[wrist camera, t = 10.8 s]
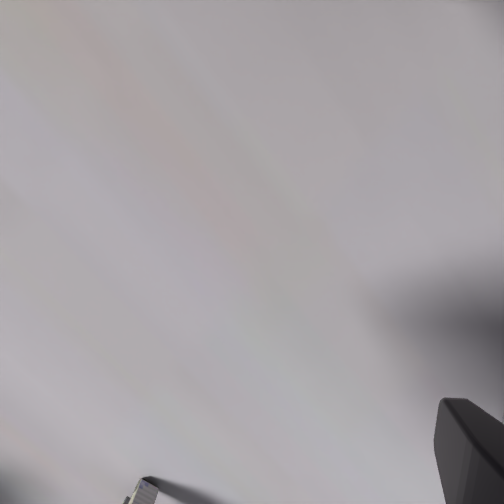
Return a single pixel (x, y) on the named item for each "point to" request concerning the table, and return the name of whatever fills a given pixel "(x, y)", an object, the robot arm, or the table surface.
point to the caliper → (143, 494)
